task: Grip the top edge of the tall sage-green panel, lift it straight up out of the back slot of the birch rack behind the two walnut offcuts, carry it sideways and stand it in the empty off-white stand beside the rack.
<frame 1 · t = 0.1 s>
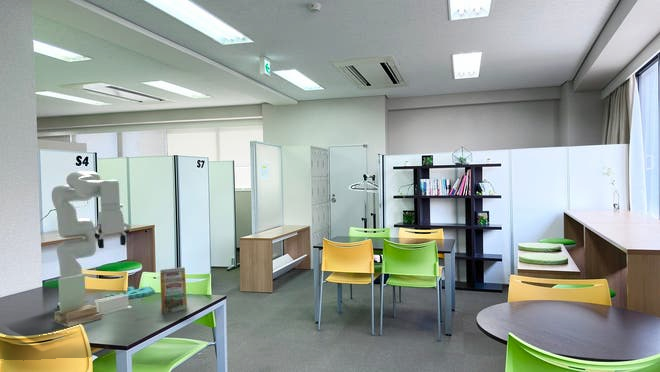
hand: (112, 246, 191), 31 cm above the table, tool pointing down, fingers open, 9 cm apart
sheet: (73, 318, 186), point 1 cm above the table, touching rack
offcut upper: (79, 314, 182), point 4 cm above the table, touching offcut lower
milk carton: (174, 310, 199), on the table
offcut lower: (80, 320, 182), point 1 cm above the table, touching offcut upper, rack
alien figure: (134, 295, 232), on the table
stand: (112, 311, 200), on the table
rack: (78, 323, 184), on the table
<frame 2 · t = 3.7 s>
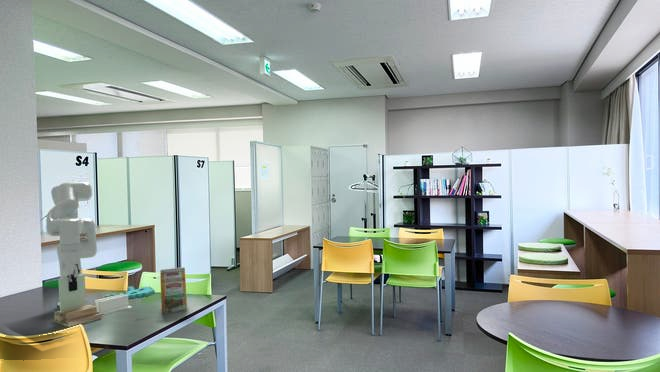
hand: (72, 290, 186), 14 cm above the table, tool pointing down, fingers closed on sheet, 1 cm apart
sheet: (73, 318, 186), point 2 cm above the table, touching gripper
everything else where it was.
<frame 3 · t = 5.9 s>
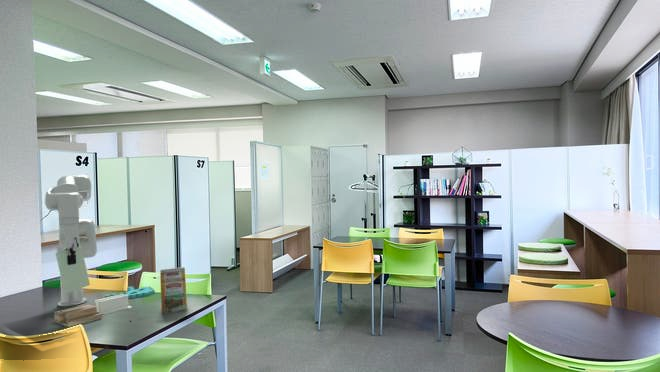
hand: (71, 263, 187), 25 cm above the table, tool pointing down, fingers closed on sheet, 1 cm apart
sheet: (77, 289, 188), point 14 cm above the table, tilted 9°, touching gripper
everything else where it was.
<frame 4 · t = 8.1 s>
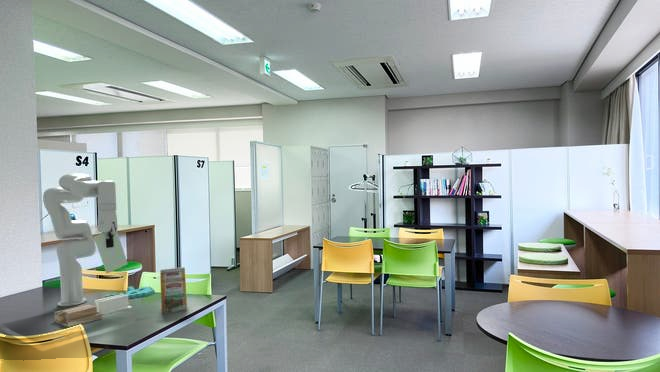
hand: (109, 247, 199), 30 cm above the table, tool pointing down, fingers closed on sheet, 1 cm apart
sheet: (117, 268, 202), point 19 cm above the table, tilted 16°, touching gripper
everything else where it was.
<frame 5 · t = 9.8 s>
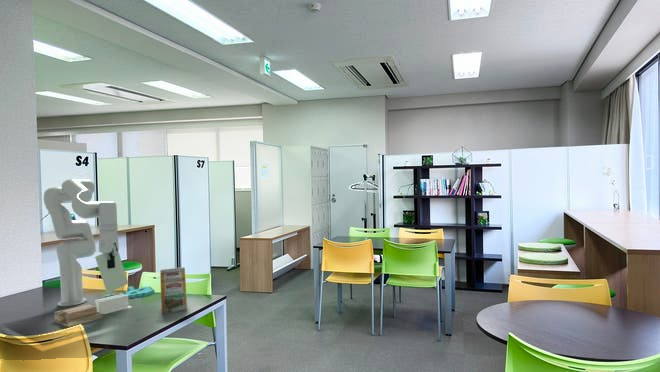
hand: (110, 267, 199), 20 cm above the table, tool pointing down, fingers closed on sheet, 1 cm apart
sheet: (117, 288, 202), point 10 cm above the table, tilted 14°, touching gripper
everything else where it was.
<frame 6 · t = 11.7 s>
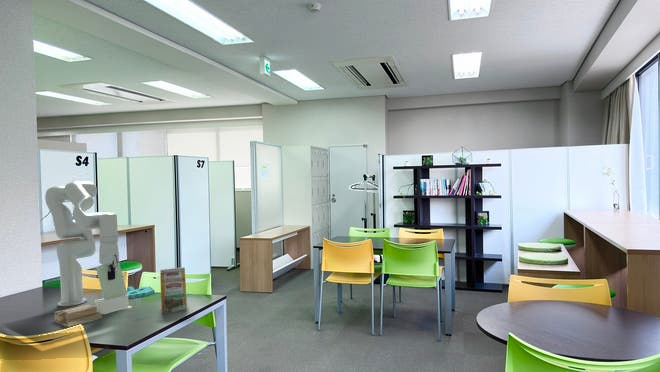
hand: (110, 279, 199), 15 cm above the table, tool pointing down, fingers closed on sheet, 1 cm apart
sheet: (116, 299, 201), point 5 cm above the table, tilted 12°, touching gripper
everything else where it was.
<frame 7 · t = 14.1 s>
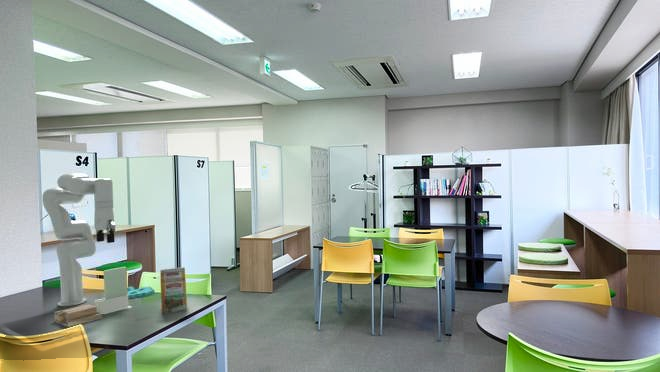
hand: (105, 241, 200), 32 cm above the table, tool pointing down, fingers open, 9 cm apart
sheet: (116, 307, 202), point 1 cm above the table, touching stand
everything else where it was.
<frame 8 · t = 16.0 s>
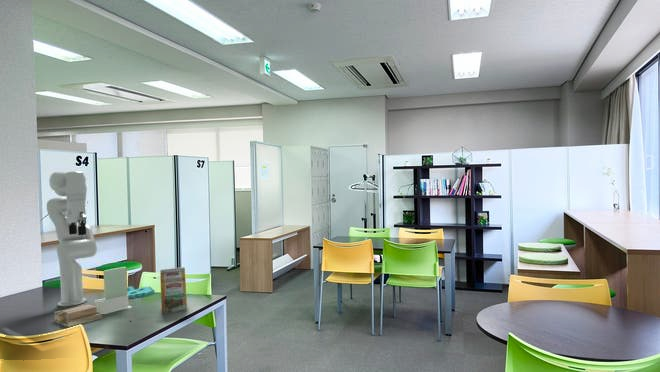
hand: (77, 234, 201), 36 cm above the table, tool pointing down, fingers open, 9 cm apart
nothing on the table moved.
at the end: sheet 2.3 cm off-centre on the stand, point 1.5 cm above the stand's base; sheet tilted 0°; the gripper is holding nothing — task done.
